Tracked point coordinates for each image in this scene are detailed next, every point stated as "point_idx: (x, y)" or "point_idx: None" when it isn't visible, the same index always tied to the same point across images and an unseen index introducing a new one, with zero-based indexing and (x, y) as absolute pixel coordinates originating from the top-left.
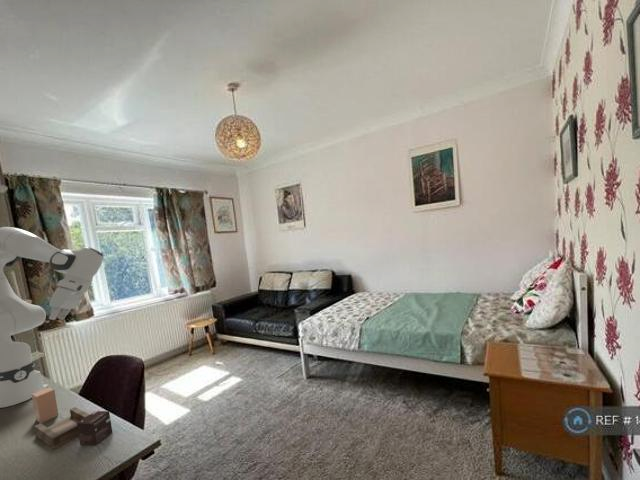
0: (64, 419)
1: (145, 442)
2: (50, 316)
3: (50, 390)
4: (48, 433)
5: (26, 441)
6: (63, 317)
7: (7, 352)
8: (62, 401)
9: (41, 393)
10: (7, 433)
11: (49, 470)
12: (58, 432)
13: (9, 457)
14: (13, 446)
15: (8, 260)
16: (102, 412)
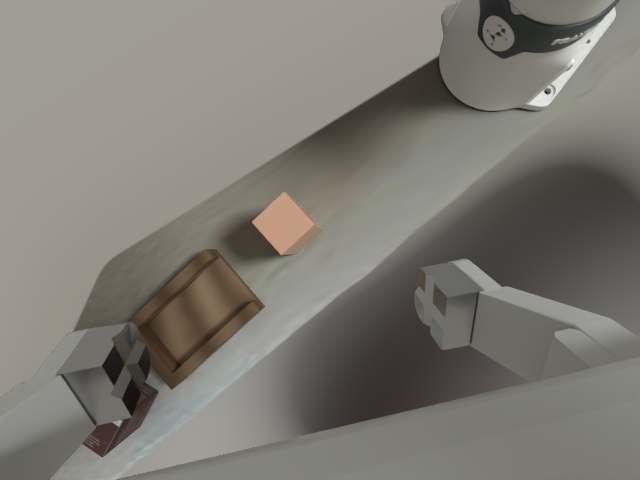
0: (245, 290)
1: None
2: (57, 360)
3: (279, 245)
4: (150, 304)
5: (204, 237)
6: (429, 324)
7: None
8: (383, 223)
9: (271, 224)
10: (267, 165)
11: None
12: (187, 305)
13: (158, 235)
14: (197, 218)
15: None
16: (105, 441)
